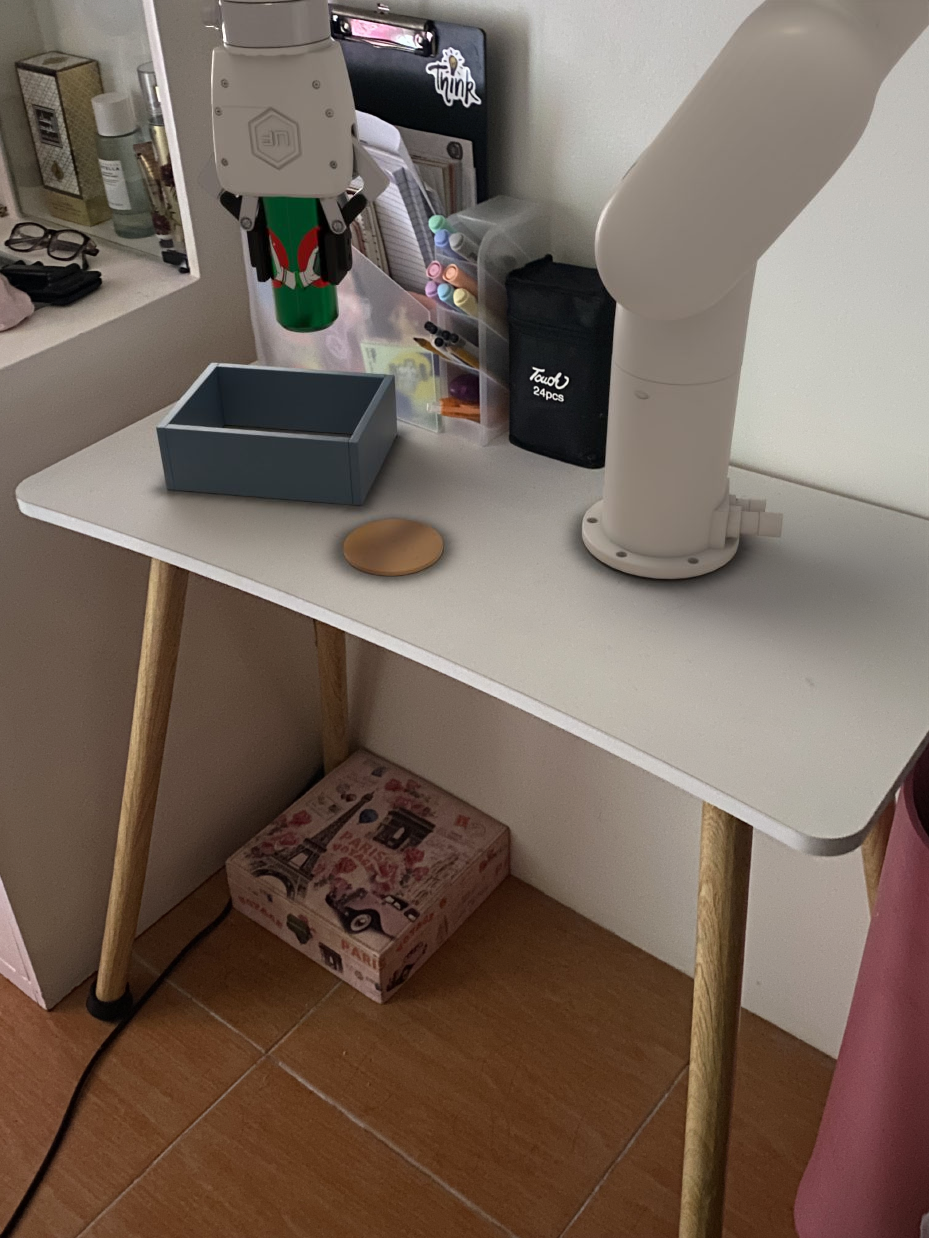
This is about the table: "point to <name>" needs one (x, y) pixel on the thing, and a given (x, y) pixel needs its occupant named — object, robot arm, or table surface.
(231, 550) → the table surface
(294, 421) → the frame
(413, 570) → the coaster
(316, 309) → the soda can
